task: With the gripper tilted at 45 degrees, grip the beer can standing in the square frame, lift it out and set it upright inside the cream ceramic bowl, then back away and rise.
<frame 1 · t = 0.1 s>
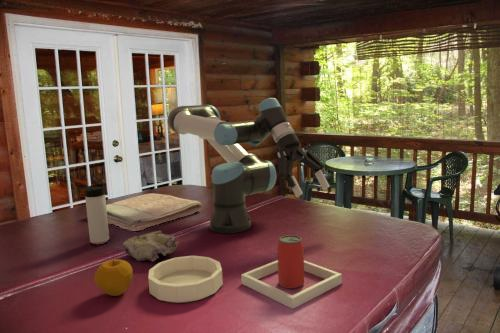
hand: (313, 191, 138), 15 cm above the table, tool tilted 35°, fingers open, 13 cm apart
geode: (154, 257, 128), on the table
travel mug: (100, 242, 142), on the table
beer can: (291, 284, 106), resting in square frame
bowl: (186, 286, 107), on the table
apple: (116, 294, 104), on the table
square frame: (291, 283, 106), on the table
towel: (145, 216, 175), on the table
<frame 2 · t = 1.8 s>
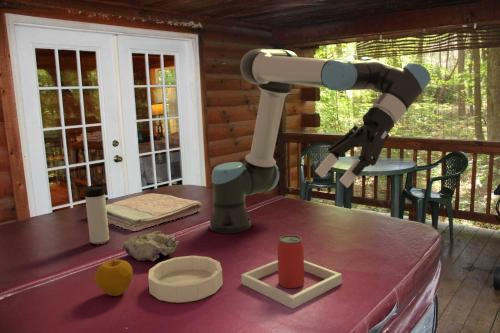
hand: (330, 179, 104), 26 cm above the table, tool tilted 45°, fingers open, 13 cm apart
nothing on the table moved.
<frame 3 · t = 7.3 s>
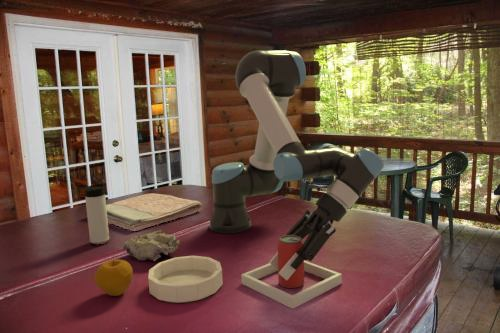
hand: (277, 270, 104), 4 cm above the table, tool tilted 45°, fingers closed on beer can, 6 cm apart
beer can: (291, 284, 106), resting in square frame, touching gripper
everything else where it was.
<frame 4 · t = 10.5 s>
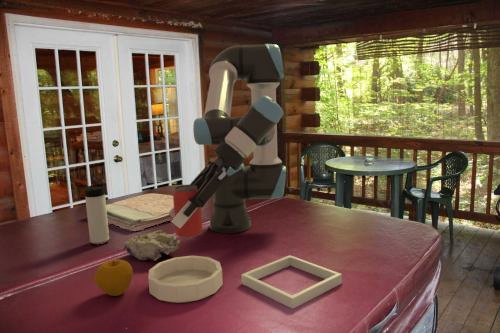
hand: (173, 220, 102), 18 cm above the table, tool tilted 45°, fingers closed on beer can, 6 cm apart
beer can: (189, 234, 104), point 14 cm above the table, touching gripper
everything else where it was.
when the fingers open (6 cm above the table, at t = 13.9 s): beer can drops 1 cm, resting on bowl.
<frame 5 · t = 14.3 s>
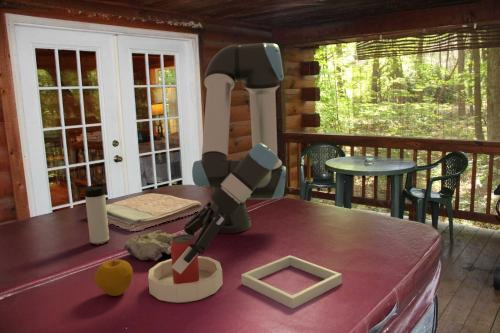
hand: (173, 261, 105), 7 cm above the table, tool tilted 45°, fingers open, 11 cm apart
beer can: (186, 283, 107), point 1 cm above the table, touching bowl
everything else where it was.
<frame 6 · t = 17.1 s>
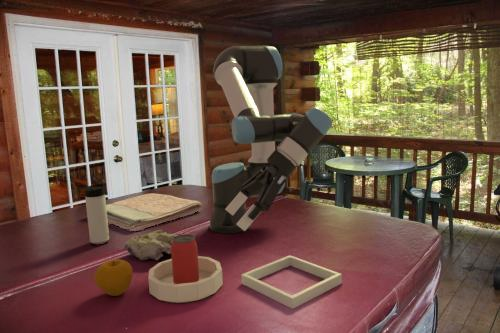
hand: (234, 219, 109), 16 cm above the table, tool tilted 45°, fingers open, 13 cm apart
nothing on the table moved.
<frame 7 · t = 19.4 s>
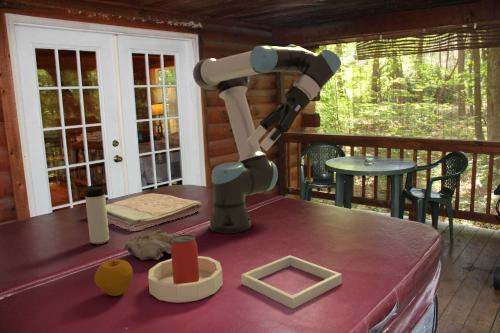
hand: (256, 145, 125), 33 cm above the table, tool tilted 45°, fingers open, 13 cm apart
at the end: beer can inside the target area on the bowl (0.1 cm from its centre), point 0.8 cm above the bowl's base; beer can tilted 0°; the gripper is holding nothing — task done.
